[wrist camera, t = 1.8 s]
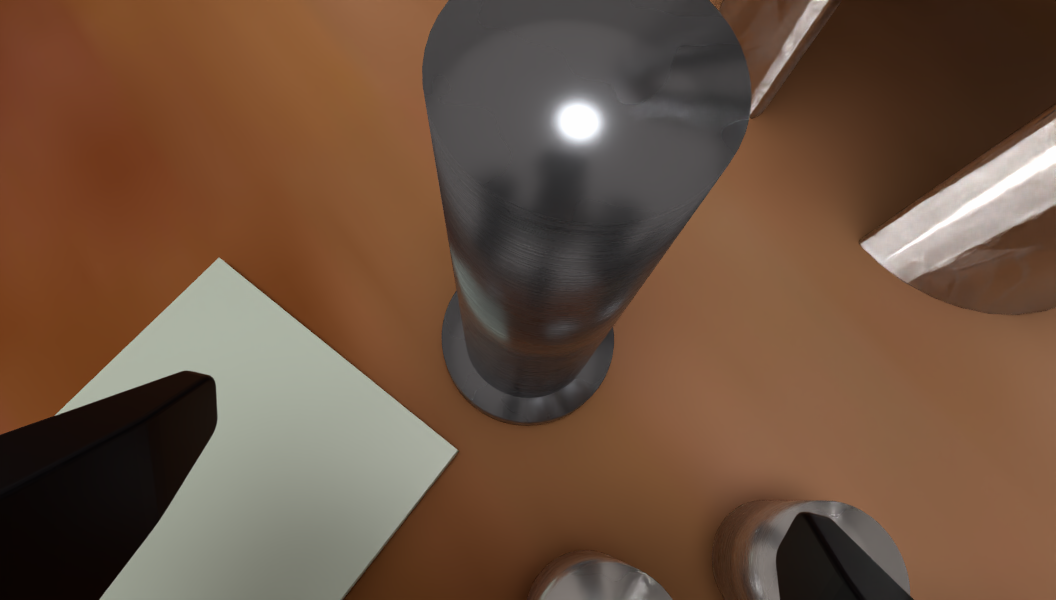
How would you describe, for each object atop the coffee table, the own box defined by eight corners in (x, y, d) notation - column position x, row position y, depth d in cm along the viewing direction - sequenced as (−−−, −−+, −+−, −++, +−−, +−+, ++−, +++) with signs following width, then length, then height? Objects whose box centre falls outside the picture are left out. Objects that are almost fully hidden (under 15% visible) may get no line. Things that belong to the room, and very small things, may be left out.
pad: (214, 763, 17) (205, 772, 17) (-36, 517, 19) (-53, 518, 18) (458, 451, 20) (457, 450, 20) (226, 263, 22) (219, 257, 21)
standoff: (543, 461, 20) (651, 387, 7) (409, 355, 21) (260, 97, 8) (640, 328, 22) (885, 50, 8) (512, 235, 23) (543, -155, 9)
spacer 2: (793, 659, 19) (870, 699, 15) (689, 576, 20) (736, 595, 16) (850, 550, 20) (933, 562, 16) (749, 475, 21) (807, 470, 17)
